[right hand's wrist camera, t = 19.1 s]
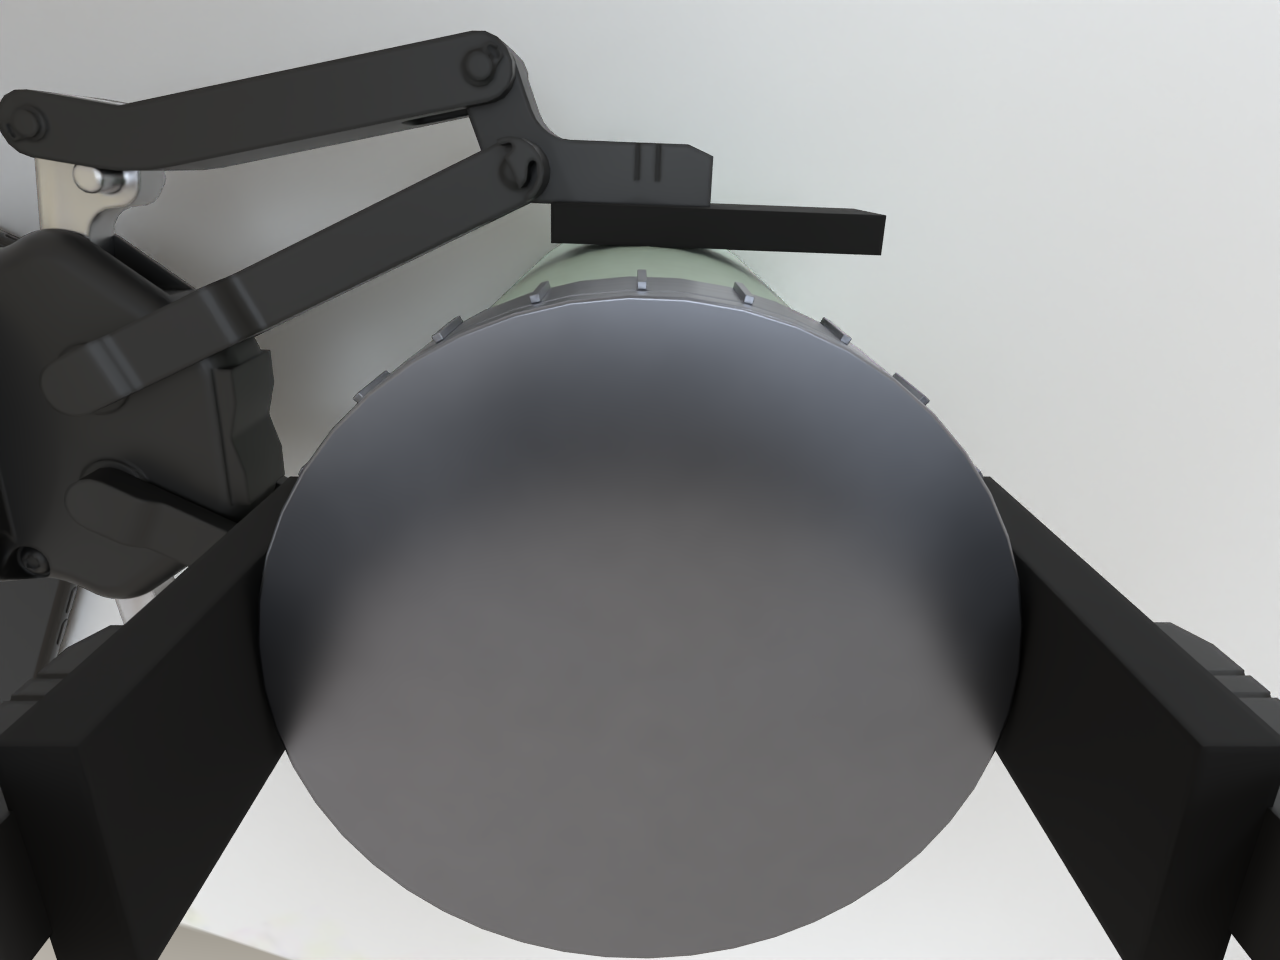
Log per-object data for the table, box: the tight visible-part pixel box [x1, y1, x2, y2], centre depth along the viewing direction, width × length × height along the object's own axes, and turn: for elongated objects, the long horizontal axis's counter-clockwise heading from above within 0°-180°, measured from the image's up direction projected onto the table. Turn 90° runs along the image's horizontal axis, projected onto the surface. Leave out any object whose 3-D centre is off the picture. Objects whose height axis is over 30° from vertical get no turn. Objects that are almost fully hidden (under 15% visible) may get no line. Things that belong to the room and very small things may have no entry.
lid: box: [258, 269, 1023, 958], centre depth 11 cm, size 9×9×2 cm
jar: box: [490, 243, 791, 309], centre depth 18 cm, size 9×9×16 cm
